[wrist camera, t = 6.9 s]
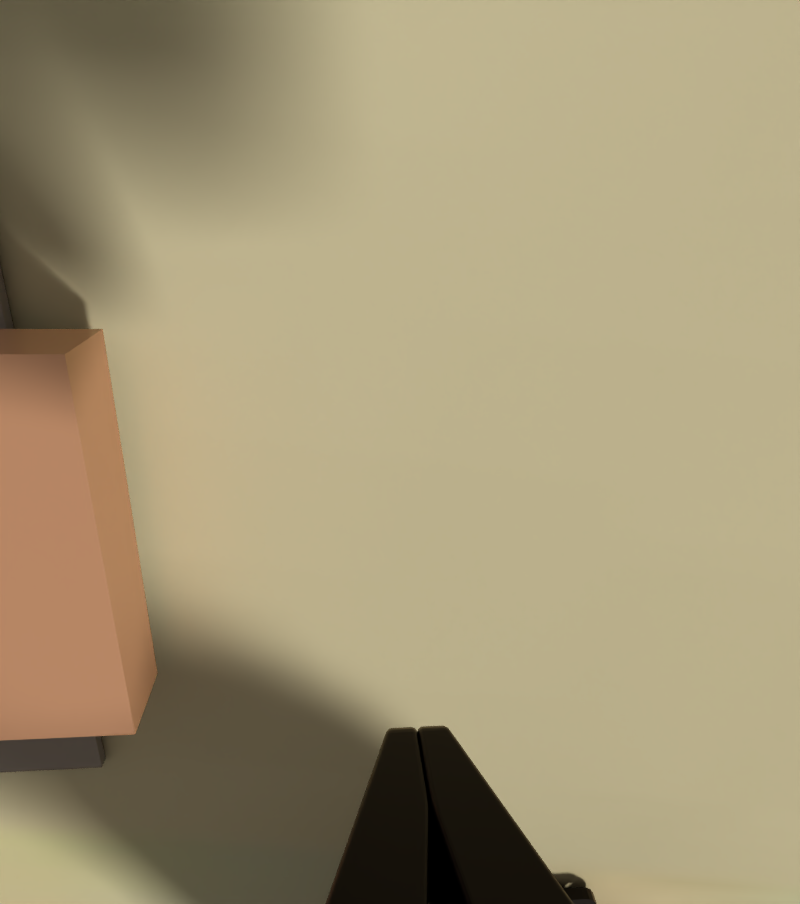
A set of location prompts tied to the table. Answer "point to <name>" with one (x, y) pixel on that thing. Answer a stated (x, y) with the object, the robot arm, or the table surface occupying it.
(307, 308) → the table surface
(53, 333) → the tile
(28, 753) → the mat
